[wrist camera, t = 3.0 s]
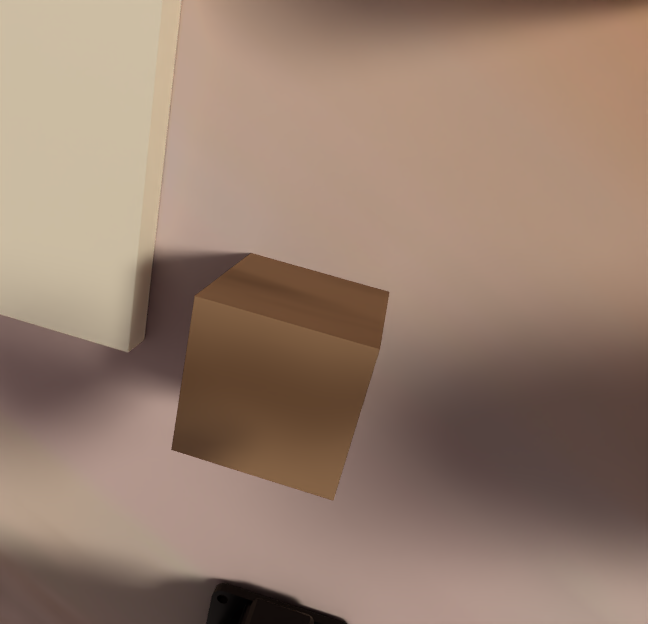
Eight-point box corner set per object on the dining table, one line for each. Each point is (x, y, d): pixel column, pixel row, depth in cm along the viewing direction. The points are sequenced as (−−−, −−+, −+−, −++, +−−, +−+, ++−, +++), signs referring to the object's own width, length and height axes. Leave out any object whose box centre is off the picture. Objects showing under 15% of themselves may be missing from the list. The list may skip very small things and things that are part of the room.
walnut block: (353, 412, 20) (333, 500, 15) (228, 374, 20) (171, 449, 15) (389, 291, 18) (379, 349, 13) (251, 252, 18) (195, 295, 13)
